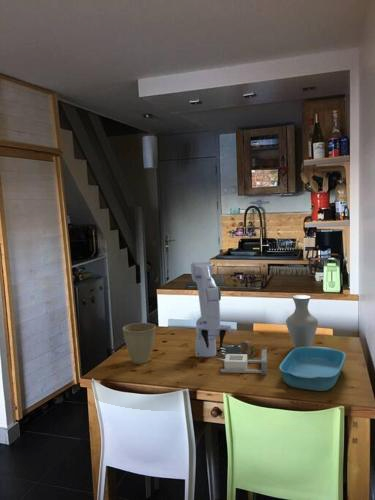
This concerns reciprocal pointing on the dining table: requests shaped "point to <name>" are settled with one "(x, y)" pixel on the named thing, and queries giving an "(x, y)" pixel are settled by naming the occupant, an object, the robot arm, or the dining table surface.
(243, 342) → the dowel
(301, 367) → the casserole dish
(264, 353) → the stop wall
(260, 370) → the slide board
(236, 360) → the sliding block
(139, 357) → the plant pot
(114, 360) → the dining table surface
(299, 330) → the vase
